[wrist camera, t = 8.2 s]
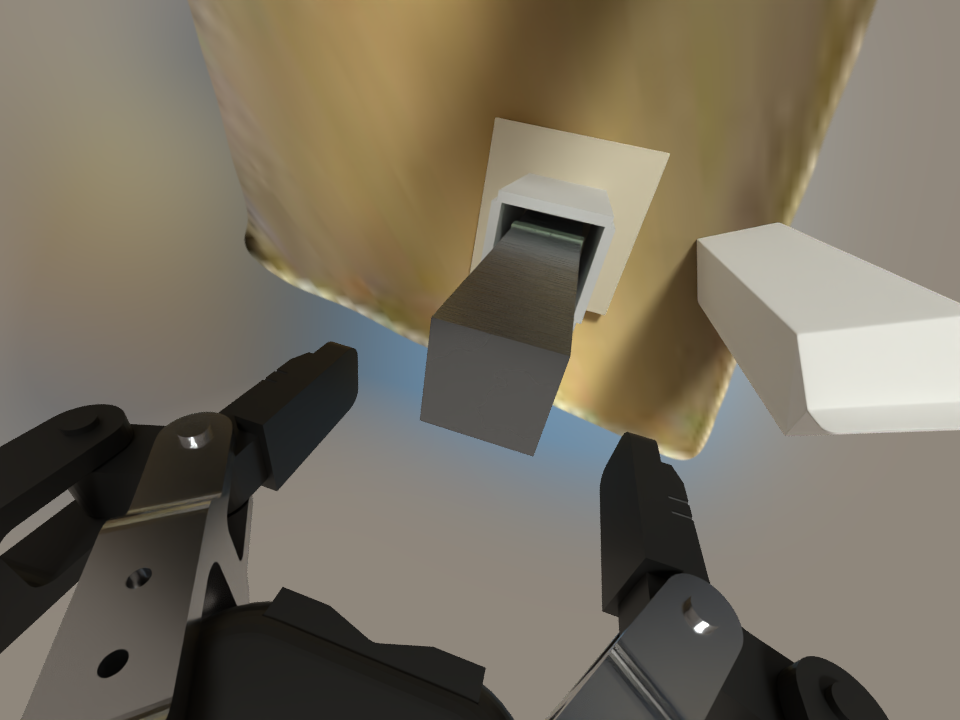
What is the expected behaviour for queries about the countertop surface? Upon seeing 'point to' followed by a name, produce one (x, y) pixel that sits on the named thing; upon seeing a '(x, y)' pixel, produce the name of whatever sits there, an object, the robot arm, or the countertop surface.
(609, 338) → the countertop surface
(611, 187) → the sleeve stand
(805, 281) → the milk
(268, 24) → the countertop surface
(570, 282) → the steel post
